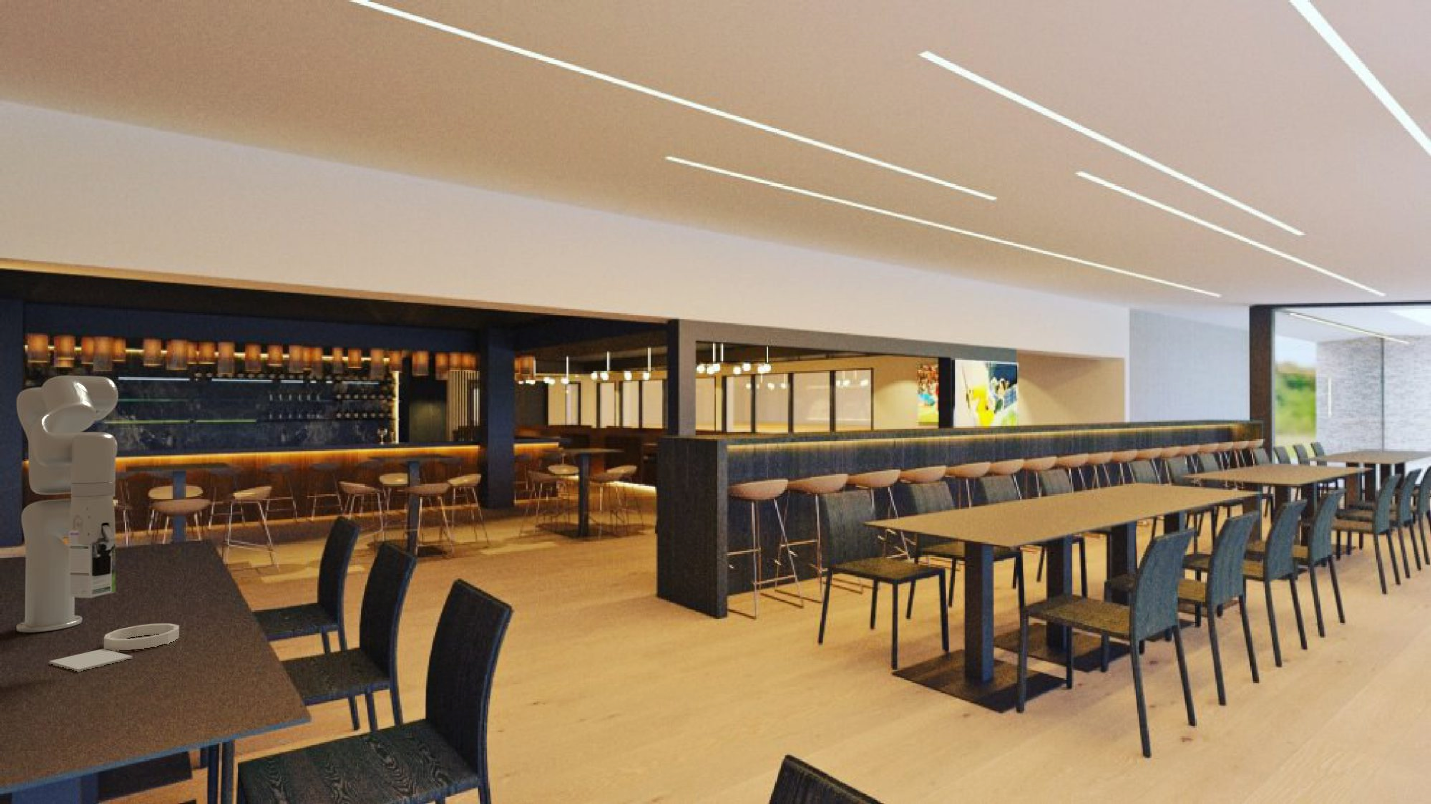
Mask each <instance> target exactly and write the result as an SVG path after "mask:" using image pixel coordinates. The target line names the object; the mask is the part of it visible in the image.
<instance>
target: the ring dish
mask: <svg viewBox="0 0 1431 804" xmlns="http://www.w3.org/2000/svg"><path fill="white" fill-rule="evenodd" d="M154 634H155V635H154ZM156 634H159V635H156ZM144 635H150V636H144ZM136 636H137V637H136ZM138 636H142V637H138ZM130 637H135V638H130ZM127 638H130V639H127ZM178 638H180V625H178V624H173V623H149V624H139V625H134V626H130V627H124V628H119V629H115V630H113V631H110V632H108V633H106V634H105V635H104V637H103V649H109V650H112V651H114V652H120V651H119V650H131V649H143V650H145V649H144V648H150V647H155V648H158V647H157V646H159V645H162V644H167V645H170V644H171V643H170V642H172V643H173V641H174V642H176V641H177V640H176V639H178ZM175 640H176V641H175ZM178 640H179V639H178ZM169 643H170V644H169ZM159 647H160V646H159ZM150 649H151V648H150ZM116 650H117V651H116Z"/></svg>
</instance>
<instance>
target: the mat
mask: <svg viewBox="0 0 1431 804" xmlns="http://www.w3.org/2000/svg"><path fill="white" fill-rule="evenodd" d="M131 658H132V659H133V655H130V654H129V655H128V654H125V653H120V652H119V651H110V650H106V649H104V648H100V649H97V650H93V651H87V652H83V653H79V654H74V655H69V656H66V657H61V658H57V659H52V660H49V661H48V662H49V665H51V664H53V665H52V666H54V667H58V666H59V668H62V667H64V668H63V669H65V668H66V669H65V670H68V669H72V670H74V671H73V672H75V671H77V672H76V673H82V672H84V671H83V670H86V669H90V670H93V669H92V668H94V669H96V668H95V667H98V668H102V667H105V666H104V665H106V664H110V665H113V664H112V663H114V664H116V663H115V662H118V663H121V662H120V661H122V662H125V661H124V660H126V659H131ZM132 659H131V660H132ZM126 661H127V660H126ZM101 666H102V667H101ZM106 666H107V665H106ZM72 670H71V671H72ZM81 671H82V672H81ZM86 671H87V670H86Z"/></svg>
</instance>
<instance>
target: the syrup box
mask: <svg viewBox="0 0 1431 804" xmlns="http://www.w3.org/2000/svg"><path fill="white" fill-rule="evenodd" d="M78 532H79V531H78V529H75V530H70V531H69V541H68V546H69V596H70V597H75V598H79V599H93V598H95V597H99V596H103V595H108V594H113V593H115V592H116V542H115V543H114V545H113V549H112V555H111V573H110V574H107V575H101V576H93V575H92V559H93V557H95V555H94V550H93V544H91V545H82V544H79V543H78V534H79V533H78ZM102 541H104V540H97V542H102ZM100 548H101V546H99V550H100Z"/></svg>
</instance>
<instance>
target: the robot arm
mask: <svg viewBox="0 0 1431 804" xmlns="http://www.w3.org/2000/svg"><path fill="white" fill-rule="evenodd" d="M118 399H119V391H118V387H117V385H116V384H115V383H114V381H113V380H112V379H110V378H108V377H106V376H93V375H58V376H53V377H51V378H49V379H47V380H46V381H45V382H44V383H43V384H42V386H41V387H31V388H26V389H24V390H22V391H21V392H19V393H18V395H17V397H16V412H17V415H18V419H19V422H20V424H21V427H22V428H23V431H24V432H25V435H26V438H27V442H28V482H29V487H30V489H31V491H32V492H34V494H39V495H65V494H70V498H61V499H46V500H39V501H35V502H32V503H30V504H28V505H27V506H26V507H24V509H23V510H22V512H21V526H22V531H23V537H24V544H25V545H24V546H25V589H24V590H25V597H24V599H25V600H24V607H25V608H24V621H22V622H20V623H18V624H17V625H16V631H17V632H19V633H41V632H49V631H56V630H62V629H63V630H64V629H66V628H70V627H71V628H72V627H73V626H77V625H79V624H81V623H82V622H83V617H82V616H80V615H76V614H75V598H76V597H70V596H69V544H67V543H66V542H64V541H63V539H64V538H67V541H68V542H69V531H70V530H75V529H78V531H79V532H78V533H79V534H78V543H79V544H82V545H91V544H93V550H94V555H95V557H93V559H92V575H93V576H101V575H107V574H110V573H111V555H112V549H113V545H114V543H115V544H116V539H117V538H116V517H115V516H116V515H115V514H116V513H115V503H114V497H116V456H117V454H118V442H117V439H116V438H115V436H114V435H113V434H110V433H109V432H103V431H87V432H84V431H86V430H87V429H88V428H90V427H92V425H93V424H94V422H96V421H100V420H103V419H104V418H106V417H107V416H108V415H109V414H110V413H111V412H112V411H113V410H114V409H115V408H116V406H117V404H118ZM97 540H104V541H102V542H97ZM99 546H101V548H100V550H99Z"/></svg>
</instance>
